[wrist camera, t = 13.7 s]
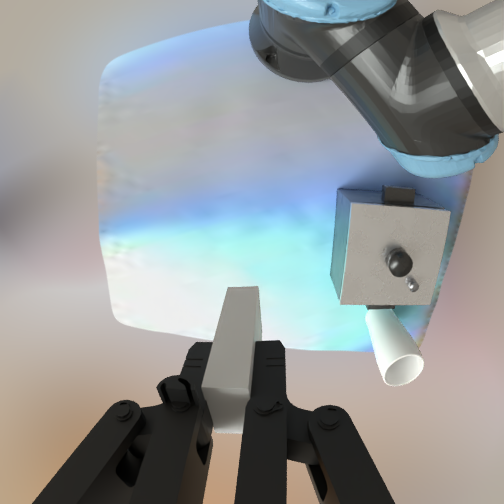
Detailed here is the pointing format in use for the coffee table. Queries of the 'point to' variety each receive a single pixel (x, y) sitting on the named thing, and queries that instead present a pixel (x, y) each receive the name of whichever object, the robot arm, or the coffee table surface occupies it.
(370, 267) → the lid
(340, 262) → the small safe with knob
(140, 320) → the coffee table surface
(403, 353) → the white hollow cylinder
